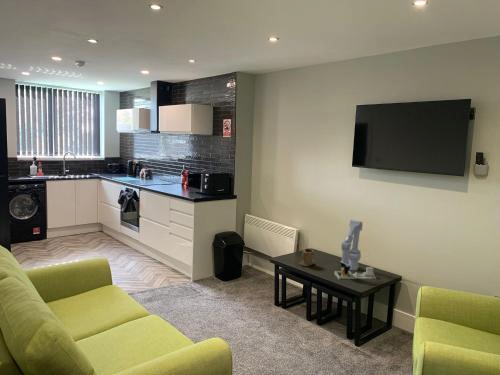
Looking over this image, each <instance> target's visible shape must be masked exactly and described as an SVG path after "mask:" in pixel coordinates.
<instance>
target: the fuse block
mask: <svg viewBox="0 0 500 375" xmlns="http://www.w3.org/2000/svg"><path fill="white" fill-rule="evenodd" d="M352 274H353V275H354V277H355V279H377V277H376V276H375V273H374V272H373V276H368V277H367V274H366V271H363V272H362V273H358V272H356V271H355V272H354V273H352Z"/></svg>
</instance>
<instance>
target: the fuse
mask: <svg viewBox="0 0 500 375" xmlns="http://www.w3.org/2000/svg"><path fill="white" fill-rule="evenodd" d="M365 273H366V274H367V277H368V276H373V273H374V267H371V266H369V267H367V266H366V267H365Z"/></svg>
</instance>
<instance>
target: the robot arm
mask: <svg viewBox="0 0 500 375" xmlns="http://www.w3.org/2000/svg"><path fill="white" fill-rule="evenodd" d="M348 225H349V231H348V234H346V236H345V239H344V241H342V243H341V253H342V254H341V260H340V261H339V263H340V267H341V268H344V273H345V274H348V275H349V273H348V271H350V270H351V271H357V270H359V261H360V260H361V257H362V254H361V252H362V251H361V250H360V249H359V241H360V232H361V231H363V222H362V221H360V220H354V219H351V220H349V224H348Z"/></svg>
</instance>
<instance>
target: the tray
mask: <svg viewBox="0 0 500 375" xmlns="http://www.w3.org/2000/svg"><path fill="white" fill-rule="evenodd" d="M341 271H342V270H335V271H334V275H335V277H336V278H337V280H338V281H340V280H355V279H356V278H355V277H354V275H353V274H354V273H352V272H351V271H350V270H349V271H348V276H341V275H339V274H341Z"/></svg>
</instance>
